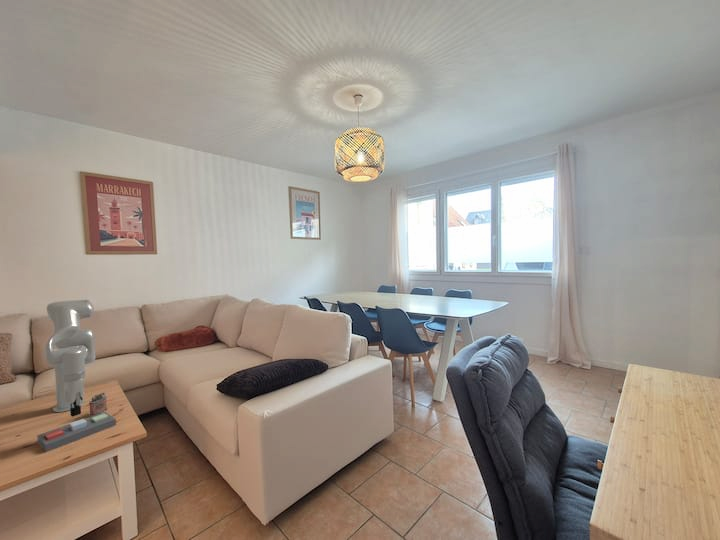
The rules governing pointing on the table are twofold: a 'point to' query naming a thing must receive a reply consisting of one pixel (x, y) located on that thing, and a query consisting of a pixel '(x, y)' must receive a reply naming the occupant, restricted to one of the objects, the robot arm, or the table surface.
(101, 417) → the sage button
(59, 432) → the red button
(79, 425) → the bluegrey button
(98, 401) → the lighter
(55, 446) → the button panel
